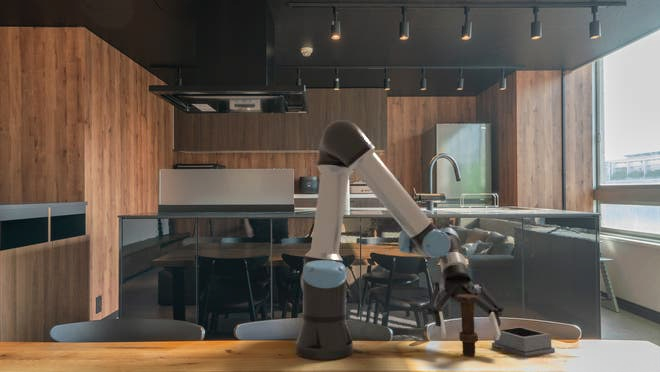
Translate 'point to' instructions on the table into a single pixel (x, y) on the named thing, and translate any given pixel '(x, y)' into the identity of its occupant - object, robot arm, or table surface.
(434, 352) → the table surface
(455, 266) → the robot arm
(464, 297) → the brown flared column
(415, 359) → the table surface
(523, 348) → the rectangular open box
